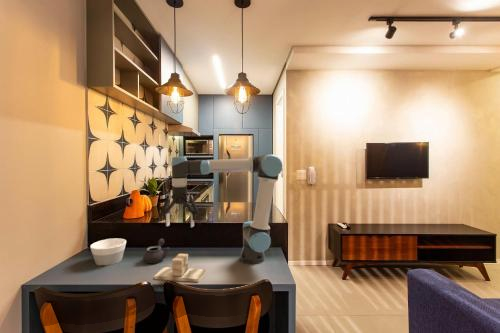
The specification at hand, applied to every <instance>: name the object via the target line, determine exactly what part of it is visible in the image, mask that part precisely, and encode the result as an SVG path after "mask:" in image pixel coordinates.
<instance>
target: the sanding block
mask: <svg viewBox="0 0 500 333" xmlns="http://www.w3.org/2000/svg"><path fill="white" fill-rule="evenodd" d="M171 260H172V261H171V262H172V276H175V277H182V276H183V275H184V274H185V273H186V271H187V270H188V268H189V254H188V253H178V254H177V255H176V256H175V257H174V258H172V259H171Z"/></svg>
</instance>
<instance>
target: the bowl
mask: <svg viewBox="0 0 500 333" xmlns="http://www.w3.org/2000/svg"><path fill="white" fill-rule="evenodd" d="M126 245H127V240H126V239H124V238H115V237H114V238H106V239H101V240H98V241H96V242H93V243H92V244H90V250H91V254H92V256H93V259H94V262H95V265H97V266H101V265H105V266H111V265H114V264H118V263H120V262H121V261H122V260H123V257H124V252H125V248H126Z"/></svg>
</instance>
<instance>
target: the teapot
mask: <svg viewBox="0 0 500 333" xmlns="http://www.w3.org/2000/svg"><path fill="white" fill-rule="evenodd" d="M157 242H158V243H157V245H154V246H149V247H147V248H146V251H145V253H144V254H143V257H142V261H143V262H144V263H147V264H155V263H156V264H157V263H159V262H162V261H163V260H165V258H166V257H167V254H168V251H170V247H166V248H165V249H164V250H162V247H163V245H164V244H165V239H164V238H159V240H158V241H157Z"/></svg>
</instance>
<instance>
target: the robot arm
mask: <svg viewBox="0 0 500 333" xmlns="http://www.w3.org/2000/svg"><path fill="white" fill-rule="evenodd" d="M282 170H283V161H282V160H281V159H280V157H279V156H277V155H275V154H262V155H257V156H250V157H249V158H222V159H195V160H188V159H187V157H186V156H173V157H172V158H171V186H172V187H171V190H172V191H171V193H172V195H171V194H167V195H166V197H165V202H164V203H163V205H162V208H161V210H160V213H163V214H164V215H163V216H164V220H165V227H169V226H170V225H171V224H170V223H171V222H170V221H171V220H170V218H171V217H170V215H171V214H170V211H171V209H172V208H173V207H174V206H175V205H184V206H185V207H186V208H187V210H188V211H189V213H190V228H193V227H195V221H196V219H197V216H196V215H197V214H199V213H200V209H199V208H198V205H197V204H196V202H195V200H194V195H192V194H191V195H188V175H202V176H203V175H209V174H210V173H228V172H229V173H230V172H231V173H232V172H235V173H237V172H249V173H253V174H254V173H255V174H256V173H257V178H258V180H259V183H258V189H257V195H256V201H255V208H254V213H253V214H254V215H253V220H249V221H244V222H243V224H242V244H243V245H242V249H241V252H240V257H239V259H240V261H241V262H243V263H247V264H259V263H262V262H264V261H265V259H266V257H265V256H266V255H265V251H267V250H268V249H269V248H270V246H271V242H272V239H271V236H270V233H271V227H270V225H269V222H270V215H271V209H272V202H273V195H274V188H275V183H276V182H277V181H278V180H279V175H280V174H281V173H282ZM171 199H172V201H171ZM170 201H171V203H170Z"/></svg>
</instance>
